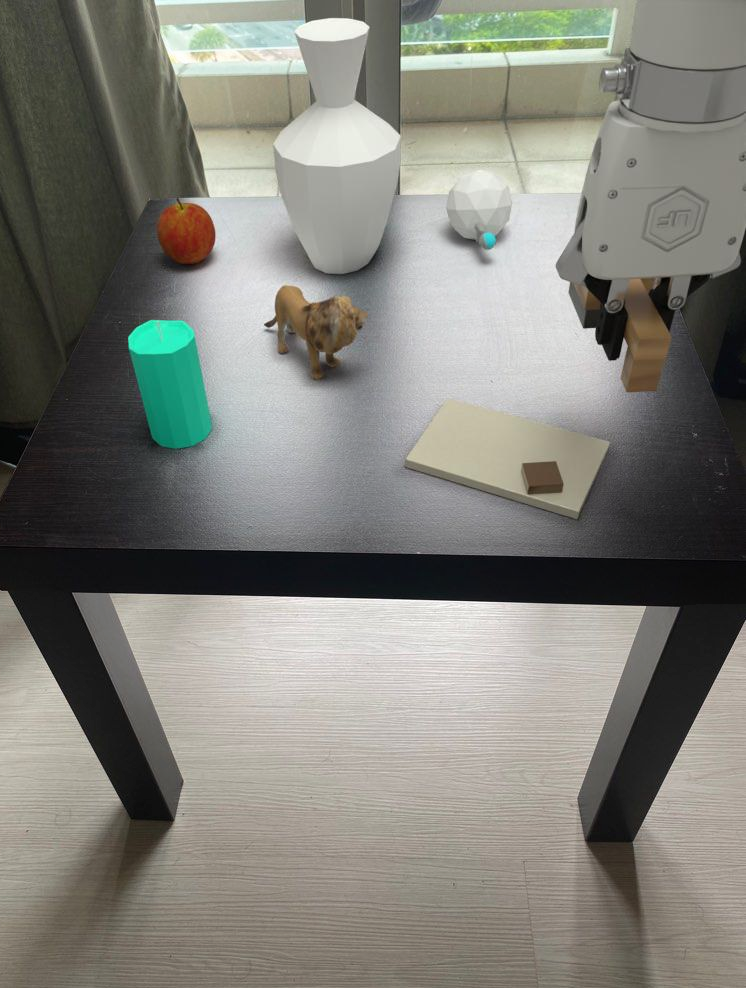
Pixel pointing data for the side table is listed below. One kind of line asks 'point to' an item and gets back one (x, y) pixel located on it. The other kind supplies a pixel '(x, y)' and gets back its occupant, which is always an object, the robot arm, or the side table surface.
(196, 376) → the candle
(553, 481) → the mud flake
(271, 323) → the lion figurine
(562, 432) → the tile
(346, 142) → the vase
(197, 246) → the fruit
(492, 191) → the perfume bottle
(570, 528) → the side table surface
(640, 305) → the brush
